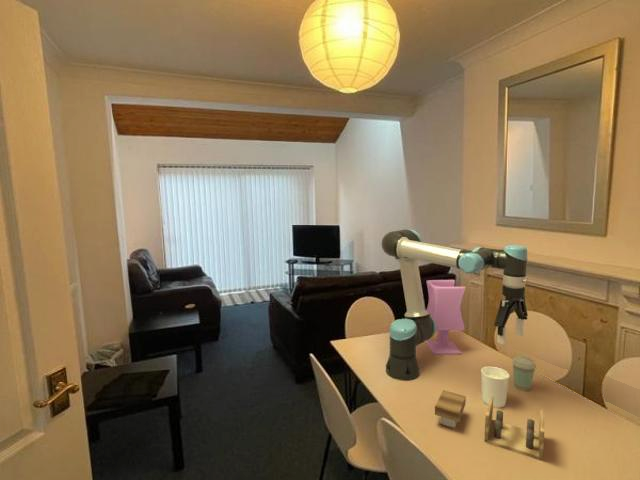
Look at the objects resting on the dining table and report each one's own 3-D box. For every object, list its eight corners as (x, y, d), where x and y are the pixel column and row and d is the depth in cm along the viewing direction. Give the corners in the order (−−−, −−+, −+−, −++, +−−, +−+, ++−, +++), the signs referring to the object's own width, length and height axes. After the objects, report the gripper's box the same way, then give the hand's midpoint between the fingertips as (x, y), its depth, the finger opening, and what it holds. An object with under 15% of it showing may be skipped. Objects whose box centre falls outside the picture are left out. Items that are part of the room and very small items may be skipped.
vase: (463, 355, 174) (466, 287, 169) (432, 355, 174) (434, 287, 169) (452, 342, 189) (454, 279, 185) (423, 342, 189) (424, 280, 185)
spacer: (455, 428, 120) (455, 417, 119) (440, 423, 123) (440, 412, 122) (459, 415, 127) (460, 405, 126) (445, 411, 129) (445, 401, 129)
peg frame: (484, 441, 113) (485, 414, 112) (489, 421, 123) (490, 396, 122) (542, 460, 105) (544, 431, 103) (542, 437, 115) (544, 410, 113)
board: (458, 422, 117) (459, 413, 116) (434, 414, 121) (434, 406, 121) (465, 403, 127) (465, 396, 126) (442, 397, 131) (443, 390, 131)
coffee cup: (537, 393, 139) (539, 365, 138) (514, 391, 141) (516, 364, 139) (529, 382, 148) (531, 356, 146) (507, 380, 149) (509, 354, 148)
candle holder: (496, 412, 128) (498, 381, 127) (474, 398, 137) (475, 370, 135) (513, 404, 133) (515, 374, 131) (490, 391, 141) (491, 364, 140)
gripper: (506, 293, 122) (502, 350, 125) (539, 282, 136) (535, 334, 139) (486, 289, 128) (482, 343, 131) (520, 279, 142) (516, 328, 145)
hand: (510, 338), depth 135 cm, fingers open, 13 cm apart
